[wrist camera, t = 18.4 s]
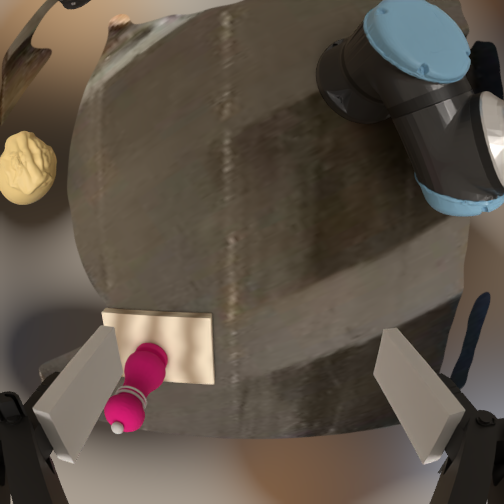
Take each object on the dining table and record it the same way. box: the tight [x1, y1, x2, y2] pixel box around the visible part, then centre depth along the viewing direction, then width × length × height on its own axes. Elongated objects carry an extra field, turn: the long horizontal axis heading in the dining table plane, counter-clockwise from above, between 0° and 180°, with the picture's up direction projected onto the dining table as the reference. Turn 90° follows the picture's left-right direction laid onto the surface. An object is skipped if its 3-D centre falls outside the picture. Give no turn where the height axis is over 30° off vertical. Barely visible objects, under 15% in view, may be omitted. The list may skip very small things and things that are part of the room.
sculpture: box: [0, 131, 57, 205], centre depth 41 cm, size 11×12×11 cm
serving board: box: [102, 308, 215, 384], centre depth 54 cm, size 20×14×2 cm
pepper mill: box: [104, 343, 168, 434], centre depth 44 cm, size 7×7×20 cm
